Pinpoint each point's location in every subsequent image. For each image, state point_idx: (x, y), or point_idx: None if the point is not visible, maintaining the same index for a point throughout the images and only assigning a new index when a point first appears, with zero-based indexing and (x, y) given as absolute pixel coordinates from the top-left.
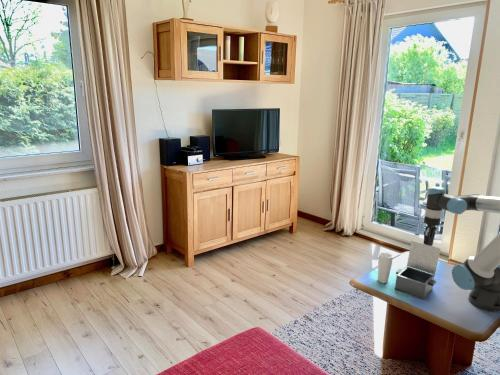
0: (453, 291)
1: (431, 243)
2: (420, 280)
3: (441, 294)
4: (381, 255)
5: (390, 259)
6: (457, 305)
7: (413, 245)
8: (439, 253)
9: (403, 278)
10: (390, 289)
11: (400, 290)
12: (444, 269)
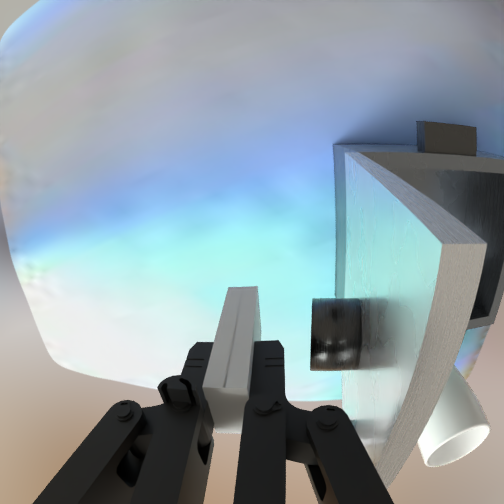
0: (253, 51)
1: (177, 444)
2: None
3: (351, 87)
4: (433, 453)
5: (481, 415)
6: (396, 6)
7: None
8: (402, 196)
9: (500, 286)
10: None
11: None
12: (45, 205)
